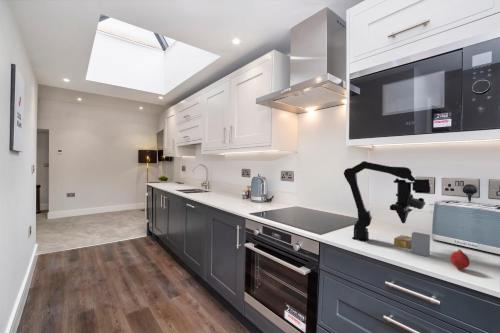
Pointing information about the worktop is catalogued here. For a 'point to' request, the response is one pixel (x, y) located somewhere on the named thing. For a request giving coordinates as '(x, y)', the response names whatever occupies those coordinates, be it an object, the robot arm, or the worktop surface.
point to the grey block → (420, 244)
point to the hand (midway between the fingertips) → (403, 223)
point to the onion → (459, 260)
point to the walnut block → (403, 241)
